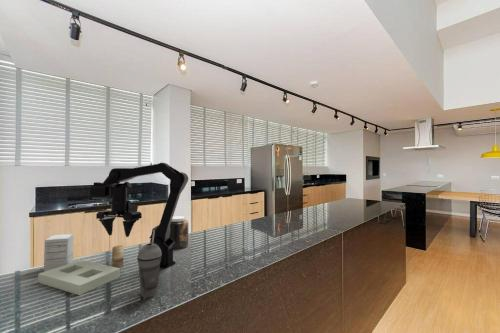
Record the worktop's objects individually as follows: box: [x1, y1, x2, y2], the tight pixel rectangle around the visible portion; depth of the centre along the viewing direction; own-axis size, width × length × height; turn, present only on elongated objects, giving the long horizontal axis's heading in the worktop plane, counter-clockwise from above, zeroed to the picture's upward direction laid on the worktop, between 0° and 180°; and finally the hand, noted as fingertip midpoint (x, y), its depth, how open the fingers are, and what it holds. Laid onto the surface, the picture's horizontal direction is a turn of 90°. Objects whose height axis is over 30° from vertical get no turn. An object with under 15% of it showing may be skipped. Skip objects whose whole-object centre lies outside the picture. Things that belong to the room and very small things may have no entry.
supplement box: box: [43, 233, 75, 272], centre depth 91 cm, size 7×7×13 cm
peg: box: [111, 245, 125, 269], centre depth 93 cm, size 4×4×8 cm
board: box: [37, 259, 121, 296], centre depth 81 cm, size 22×14×3 cm, turn 68°
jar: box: [170, 215, 189, 251], centre depth 120 cm, size 12×12×15 cm
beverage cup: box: [136, 230, 162, 298], centre depth 72 cm, size 7×7×20 cm
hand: (118, 236), depth 95 cm, fingers open, 9 cm apart
